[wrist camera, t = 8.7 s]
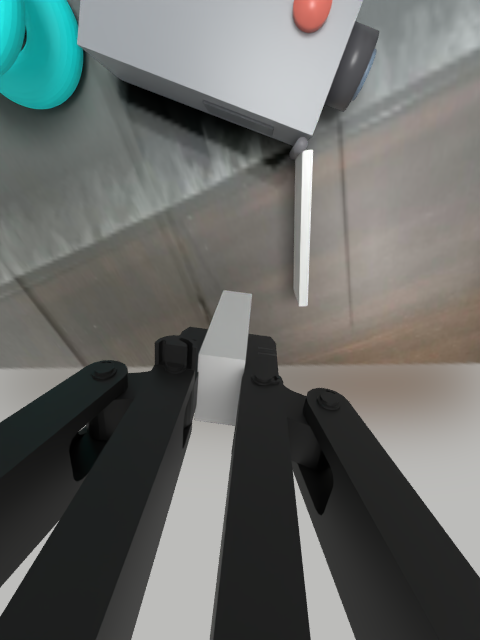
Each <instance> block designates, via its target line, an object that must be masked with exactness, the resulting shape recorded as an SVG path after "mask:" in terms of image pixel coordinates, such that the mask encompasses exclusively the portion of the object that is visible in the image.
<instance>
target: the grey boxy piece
mask: <svg viewBox="0 0 480 640" xmlns="http://www.w3.org/2000/svg"><path fill="white" fill-rule="evenodd" d="M362 2H363V0H81V1H80V14H79V26H78V39H77V45H78V46H80V47H81V48H82V49H83V50H85V51H86V52H87V53H88V54H90V55H91V56H92V57H93V58H94V59H96V60H97V61H98V62H99V63H101V64H102V65H103V66H104V67H106V68H107V69H108V70H109V71H111V72H112V73H113V74H114V75H116V76H117V77H118V78H119V79H120V80H123V81H125V82H128V83H130V84H133V85H136V86H138V87H141V88H143V89H146V90H149V91H151V92H154V93H157V94H159V95H162V96H164V97H167V98H170V99H172V100H175V101H177V102H180V103H183V104H185V105H188V106H190V107H193V108H196V109H198V110H201V111H203V112H206V113H209V114H211V115H214V116H216V117H219V118H222V119H224V120H227V121H230V122H232V123H235V124H237V125H240V126H243V127H245V128H248V129H250V130H253V131H256V132H258V133H261V134H263V135H266V136H269V137H271V138H274V139H276V140H279V141H282V142H284V143H287V144H290V145H292V146H294V145H295V143H296V141H297V140H298V139H299V138H300V137H305V138H306V139H307V141H308V140H309V139H310V138H311V137H312V135H313V132H314V130H315V127H316V124H317V122H318V119H319V116H320V114H321V111H322V108H323V106H324V104H325V105H327V106H330V107H332V108H335V109H337V110H340V111H342V112H344V111H345V110H346V108H347V107H348V105H349V103H350V102H351V100H354V99H355V98H356V97H357V95H358V93H359V92H360V90H361V88H362V86H363V84H364V82H365V80H366V78H367V75H368V73H369V71H370V69H371V66H372V64H373V61H374V58H375V55H376V49H375V46H376V43H377V40H378V36H379V31H378V30H375V29H373V28H371V27H368V26H366V25H363V24H361V23H359V22H356V21H355V20H356V18H357V15H358V12H359V10H360V7H361V4H362Z"/></svg>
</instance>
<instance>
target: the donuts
mask: <svg viewBox="0 0 480 640" xmlns="http://www.w3.org/2000/svg"><path fill="white" fill-rule="evenodd" d="M25 26H26V30H27V40H26V44H25V46H24V48H23V49H22V50H21V48H22V45H23V40H24V35H25ZM77 39H78V23H77V21H76V18H75V16H74V13H73V11H72V9H71V7H70V5H69V4H68V2H67V0H0V93H1V94H3V95H4V96H5V97H7V98H8V99H10V100H11V101H13V102H15V103H17V104H19V105H22V106H25V107H28V108H32V109H49V108H53V107H56V106H58V105H60V104H62V103H63V102H65V101H66V100H67V99H68V98H69V97H70V96H71V95H72V94H73V92H74V91H75V89H76V87H77V85H78V83H79V80H80V77H81V73H82V68H83V49H82V48H81V47H80V46H78V45H77Z"/></svg>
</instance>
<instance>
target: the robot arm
mask: <svg viewBox="0 0 480 640" xmlns="http://www.w3.org/2000/svg"><path fill="white" fill-rule="evenodd" d="M251 300H252V294H249V293H242V292H234V291H226V290H223V293H222V295H221V298H220V301H219V303H218V306H217V308H216V311H215V313H214V316H213V318H212V321H211V324H210V326H209V329H202V328H194V327H189V328H187V329H186V330H184V331H182V333H181V335H180V336H175V335H173V336H166V337H163V338H160V339H158V340H157V341H156V342H155V365H154V367H153V369H152V370H151V371H148V372H141V373H128V369H127V367H126V366H125V364H123V363H121V362H118V361H112V360H107V361H106V360H105V361H100V362H95V363H93V364H90V365H88V366H86V367H85V368H83V369H82V370H80V371H79V372H77V373H76V374H74V375H73V376H71V377H69V378H68V379H66V380H65V381H63V382H62V383H60V384H59V385H57V386H56V387H54V388H53V389H51V390H50V391H48V392H47V393H45V394H43V395H42V396H40V397H39V398H37V399H36V400H34V401H33V402H31V403H30V404H28V405H27V406H25V407H23V408H22V409H20V410H19V411H17V412H16V413H14V414H13V415H11V416H10V417H8V418H7V419H5V420H4V421H2V422H1V423H0V587H1V586H2V585H3V584H4V582H5V581H6V580H7V579H8V578H9V577H10V576H11V574H12V573H13V572H14V571H15V570H16V569H17V568H18V567H19V565H20V564H21V563H22V562H23V561H24V560H25V559H26V558H27V556H28V555H29V554H30V553H31V552H32V551H33V549H34V548H35V547H36V546H37V545H38V544H39V543H40V542H41V540H42V539H43V538H44V537H45V536H46V535H47V534H48V532H49V531H50V530H51V529H52V528H53V527H54V526H55V524H56V523H57V522H58V521H59V522H58V524H57V525H56V527H55V528H54V530H53V532H52V533H51V535H50V537H49V538H48V540H47V541H46V543H45V545H44V546H43V548H42V550H41V551H40V553H39V555H38V556H37V558H36V560H35V561H34V563H33V564H32V566H31V568H30V569H29V571H28V573H27V574H26V576H25V577H24V579H23V581H22V582H21V584H20V586H19V587H18V589H17V590H16V592H15V594H14V595H13V597H12V599H11V600H10V602H9V603H8V605H7V607H6V608H5V610H4V612H3V613H2V615H1V616H0V640H131V638H132V634H133V631H134V628H135V624H136V621H137V617H138V614H139V610H140V607H141V603H142V600H143V596H144V593H145V590H146V586H147V583H148V579H149V576H150V572H151V569H152V566H153V562H154V559H155V555H156V552H157V548H158V545H159V541H160V538H161V534H162V531H163V528H164V524H165V521H166V517H167V513H168V511H169V507H170V504H171V500H172V497H173V493H174V490H175V486H176V483H177V480H178V476H179V472H180V469H181V466H182V462H183V459H184V455H185V452H186V448H187V445H188V441H189V438H190V435H191V430H192V419H193V416H194V413H195V416H194V417H195V418H194V420H197V421H204V422H211V423H218V424H226V425H232V426H235V432H234V439H233V446H232V456H231V465H230V473H229V481H228V490H227V499H226V507H225V515H224V524H223V532H222V540H221V549H220V557H219V566H218V574H217V583H216V592H215V599H214V608H213V616H212V625H211V634H210V640H311V639H310V630H309V620H308V612H307V602H306V592H305V584H304V573H303V564H302V555H301V545H300V536H299V526H298V517H297V508H296V499H295V489H294V479H293V472H294V475H295V477H296V480H297V483H298V486H299V488H300V491H301V494H302V496H303V499H304V502H305V504H306V507H307V510H308V512H309V515H310V518H311V520H312V523H313V526H314V528H315V531H316V534H317V537H318V539H319V542H320V545H321V547H322V549H323V553H324V555H325V558H326V561H327V563H328V566H329V569H330V571H331V574H332V577H333V579H334V582H335V585H336V587H337V590H338V593H339V596H340V598H341V600H342V604H343V606H344V609H345V612H346V614H347V617H348V620H349V622H350V625H351V628H352V630H353V633H354V636H355V638H356V640H480V577H479V576H478V575H477V573H476V572H475V571H474V570H473V568H472V567H471V566H470V564H469V563H468V561H467V560H466V559H465V557H464V556H463V555H462V553H461V552H460V551H459V549H458V548H457V547H456V545H455V544H454V543H453V541H452V540H451V538H450V537H449V536H448V534H447V533H446V532H445V530H444V529H443V528H442V526H441V525H440V524H439V522H438V521H437V520H436V518H435V517H434V516H433V514H432V513H431V512H430V510H429V509H428V508H427V506H426V505H425V504H424V502H423V501H422V499H421V498H420V497H419V496H418V494H417V493H416V491H415V490H414V489H413V487H412V486H411V485H410V483H409V482H408V481H407V479H406V478H405V477H404V475H403V474H402V473H401V471H400V470H399V469H398V467H397V466H396V465H395V463H394V462H393V461H392V459H391V458H390V457H389V455H388V454H387V453H386V451H385V450H384V449H383V447H382V446H381V445H380V443H379V442H378V440H377V439H376V438H375V436H374V435H373V434H372V432H371V431H370V430H369V428H368V427H367V426H366V424H365V423H364V422H363V420H362V419H361V418H360V416H359V415H358V413H357V412H356V411H355V410H354V408H353V407H352V405H351V404H350V403H349V401H348V400H347V399H346V398H345V397H344V396H342V395H341V394H339V393H337V392H335V391H333V390H330V389H324V388H316V389H312V390H310V391H309V392H308V393H307V396H304V395H301V394H299V393H296V392H294V391H291V390H290V389H288V388H286V387H285V386H284V385H283V381H282V378H281V377H280V376H279V375H278V364H277V353H276V343H275V342H274V341H273V339H272V338H271V337H268V336H260V335H253V334H248V331H249V321H250V310H251ZM85 425H86V426H85ZM84 426H85V427H84ZM83 427H84V428H83ZM81 428H83V429H82V430H81ZM79 430H80V431H79ZM78 431H79V432H78ZM292 469H293V470H292Z"/></svg>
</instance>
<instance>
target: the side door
mask: <svg viewBox="0 0 480 640" xmlns="http://www.w3.org/2000/svg"><path fill="white" fill-rule="evenodd" d="M307 146H308V141H307V139H306V138H305V137H300V138H299V139H298V140H297V141H296V143H295V145H294V146H293V148H292V149H291V151H290V153H289V157H290V158H291V159H292V160H295V215H294V285H293V289H294V292H295V295H296V298H297V301H298V305H299V306H308V279H309V250H310V222H311V193H312V164H313V150H305V149H306V148H307Z"/></svg>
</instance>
